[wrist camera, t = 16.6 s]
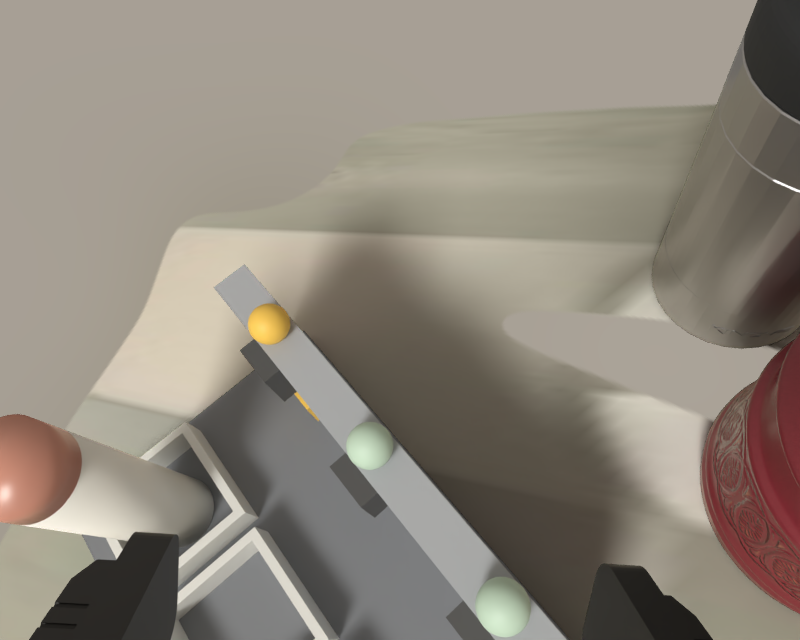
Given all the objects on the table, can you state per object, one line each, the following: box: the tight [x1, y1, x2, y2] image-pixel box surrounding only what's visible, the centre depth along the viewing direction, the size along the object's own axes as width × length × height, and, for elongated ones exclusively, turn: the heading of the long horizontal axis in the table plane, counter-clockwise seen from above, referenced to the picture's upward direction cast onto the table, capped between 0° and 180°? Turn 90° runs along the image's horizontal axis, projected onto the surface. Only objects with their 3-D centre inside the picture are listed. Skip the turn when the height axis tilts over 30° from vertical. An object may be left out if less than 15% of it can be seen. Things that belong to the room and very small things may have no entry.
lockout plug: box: [0, 414, 214, 548], centre depth 29 cm, size 4×4×14 cm
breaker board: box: [82, 264, 570, 640], centre depth 28 cm, size 25×18×12 cm
